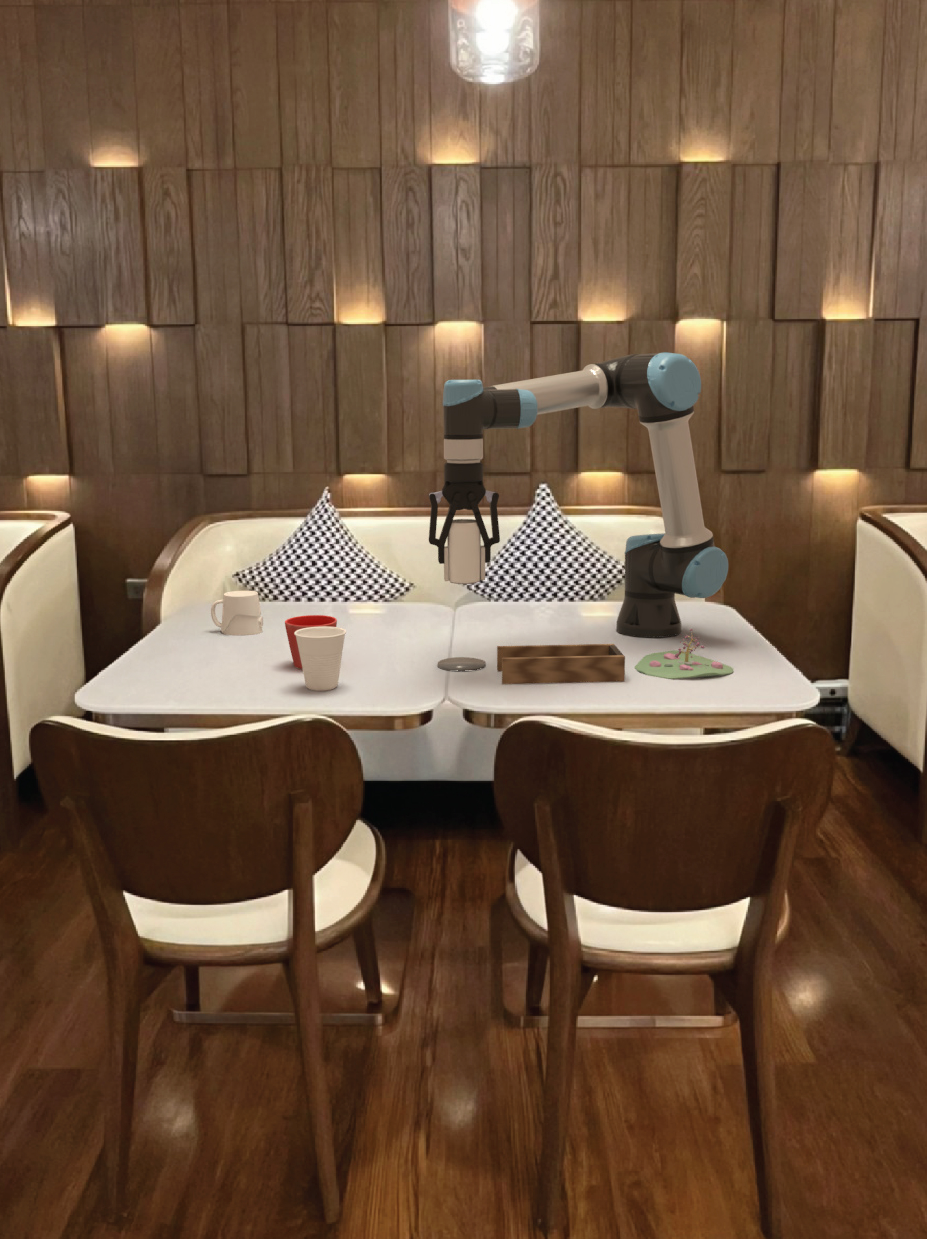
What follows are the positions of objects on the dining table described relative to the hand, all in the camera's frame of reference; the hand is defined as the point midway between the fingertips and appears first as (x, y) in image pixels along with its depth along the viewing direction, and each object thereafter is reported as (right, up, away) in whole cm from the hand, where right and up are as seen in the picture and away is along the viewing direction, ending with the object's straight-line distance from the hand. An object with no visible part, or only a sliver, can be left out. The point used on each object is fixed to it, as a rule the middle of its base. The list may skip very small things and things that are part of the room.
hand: (464, 579), depth 225 cm
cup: (-28, -21, -3) cm, 35 cm away
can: (0, -1, 0) cm, 1 cm away
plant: (+45, -18, +13) cm, 50 cm away
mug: (-54, -11, +47) cm, 73 cm away
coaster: (-1, -17, +13) cm, 22 cm away
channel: (+19, -19, +5) cm, 27 cm away
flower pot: (-32, -18, +14) cm, 39 cm away
